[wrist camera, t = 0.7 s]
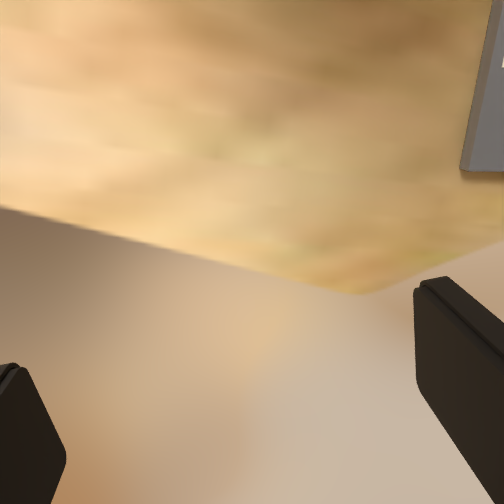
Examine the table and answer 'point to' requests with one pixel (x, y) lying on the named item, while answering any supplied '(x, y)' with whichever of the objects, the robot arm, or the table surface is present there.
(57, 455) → the robot arm
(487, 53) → the pipe rig
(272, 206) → the table surface
